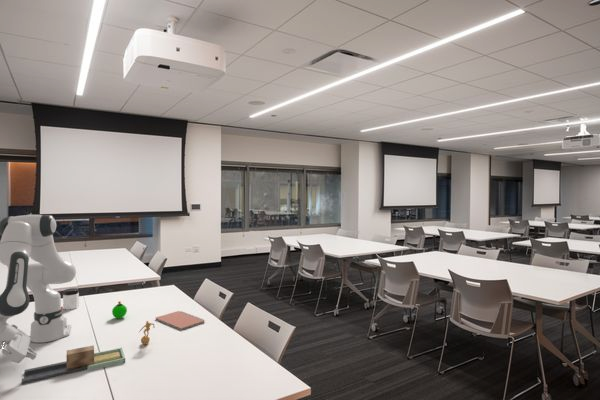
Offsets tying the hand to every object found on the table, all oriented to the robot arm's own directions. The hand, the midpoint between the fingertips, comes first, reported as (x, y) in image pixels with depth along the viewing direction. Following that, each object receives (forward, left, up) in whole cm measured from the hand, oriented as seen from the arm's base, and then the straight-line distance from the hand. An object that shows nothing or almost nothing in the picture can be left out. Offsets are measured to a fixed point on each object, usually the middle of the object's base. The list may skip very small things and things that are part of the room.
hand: (35, 356), depth 147 cm
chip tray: (-6, +25, -9) cm, 27 cm away
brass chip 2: (-7, +27, -8) cm, 29 cm away
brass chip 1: (-6, +22, -8) cm, 24 cm away
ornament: (-69, +19, -9) cm, 72 cm away
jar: (-99, -15, -9) cm, 100 cm away
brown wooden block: (-4, +15, -8) cm, 17 cm away
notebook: (-53, +55, -10) cm, 77 cm away
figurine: (-23, +39, -9) cm, 46 cm away
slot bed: (-2, +7, -9) cm, 11 cm away
